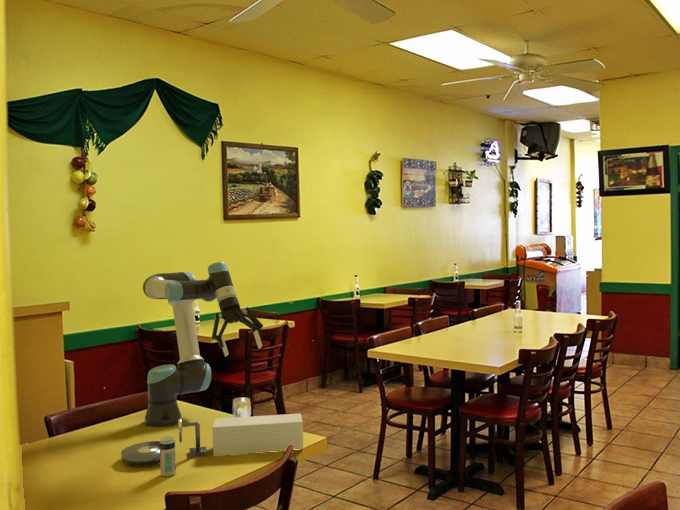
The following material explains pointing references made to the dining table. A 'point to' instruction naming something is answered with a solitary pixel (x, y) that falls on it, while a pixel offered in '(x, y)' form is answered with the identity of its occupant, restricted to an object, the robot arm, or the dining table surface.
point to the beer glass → (241, 407)
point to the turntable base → (145, 464)
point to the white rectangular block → (257, 434)
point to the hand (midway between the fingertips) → (243, 351)
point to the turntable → (142, 453)
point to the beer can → (167, 456)
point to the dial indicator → (198, 450)
